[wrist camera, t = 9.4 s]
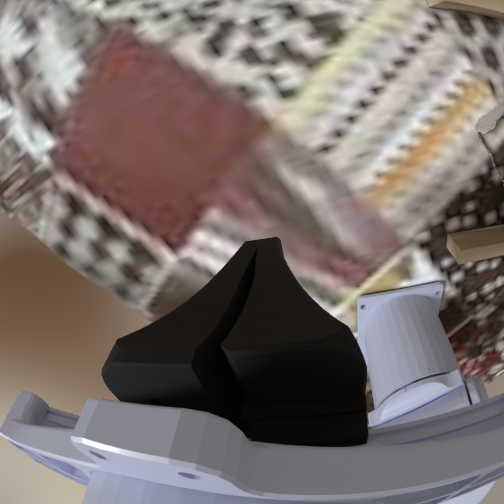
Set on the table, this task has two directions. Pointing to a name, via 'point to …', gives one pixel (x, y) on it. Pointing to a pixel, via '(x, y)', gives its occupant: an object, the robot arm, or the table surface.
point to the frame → (489, 238)
